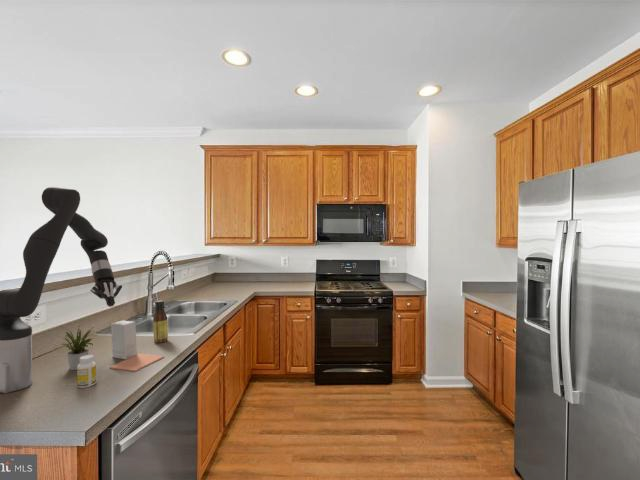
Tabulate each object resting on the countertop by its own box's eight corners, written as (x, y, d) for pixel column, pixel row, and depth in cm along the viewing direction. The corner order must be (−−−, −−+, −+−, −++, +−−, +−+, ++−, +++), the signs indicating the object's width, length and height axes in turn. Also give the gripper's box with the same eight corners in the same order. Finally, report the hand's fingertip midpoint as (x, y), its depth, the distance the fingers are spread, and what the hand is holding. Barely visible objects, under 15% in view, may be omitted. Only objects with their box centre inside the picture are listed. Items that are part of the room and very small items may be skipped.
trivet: (134, 371, 130) (134, 370, 130) (109, 368, 134) (109, 366, 134) (164, 357, 146) (164, 356, 146) (140, 354, 149) (140, 353, 149)
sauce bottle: (170, 339, 171) (170, 299, 170) (163, 343, 164) (163, 302, 164) (157, 339, 171) (157, 299, 171) (150, 343, 165) (150, 301, 165)
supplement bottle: (92, 380, 123) (93, 353, 122) (98, 384, 119) (98, 356, 119) (75, 385, 118) (75, 357, 118) (80, 389, 115) (80, 360, 115)
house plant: (47, 378, 124) (47, 333, 123) (53, 366, 135) (53, 324, 135) (94, 371, 131) (94, 328, 131) (96, 359, 143) (96, 320, 142)
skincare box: (137, 355, 148) (137, 321, 147) (124, 360, 142) (124, 324, 142) (123, 353, 151) (123, 319, 151) (110, 357, 145) (110, 322, 145)
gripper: (89, 267, 148) (98, 302, 142) (121, 267, 159) (130, 300, 153) (82, 276, 151) (91, 311, 145) (113, 276, 162) (123, 308, 156)
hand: (111, 305), depth 149 cm, fingers closed
